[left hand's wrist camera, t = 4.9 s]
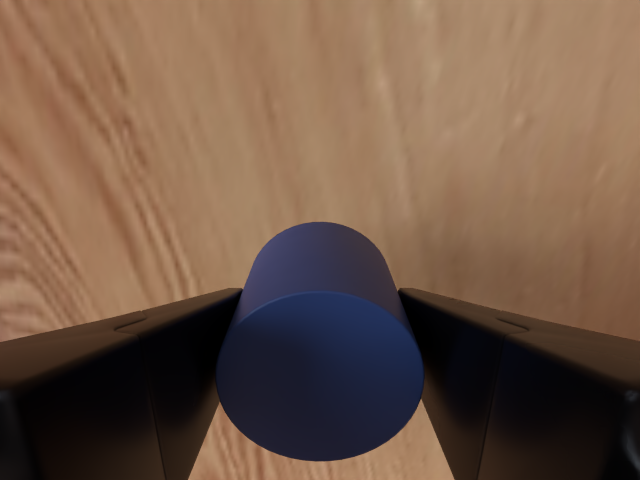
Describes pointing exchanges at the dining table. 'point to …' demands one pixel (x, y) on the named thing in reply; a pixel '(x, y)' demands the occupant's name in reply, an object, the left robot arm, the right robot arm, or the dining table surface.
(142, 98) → the dining table surface
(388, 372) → the canister
